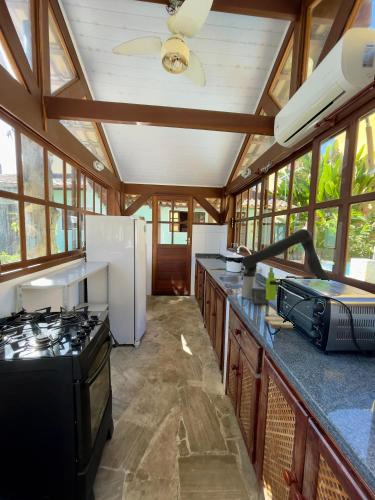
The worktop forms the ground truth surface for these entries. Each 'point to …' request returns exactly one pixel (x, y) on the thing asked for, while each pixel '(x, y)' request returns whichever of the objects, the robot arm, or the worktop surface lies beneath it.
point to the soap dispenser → (270, 286)
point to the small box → (259, 296)
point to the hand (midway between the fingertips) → (267, 281)
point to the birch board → (277, 322)
